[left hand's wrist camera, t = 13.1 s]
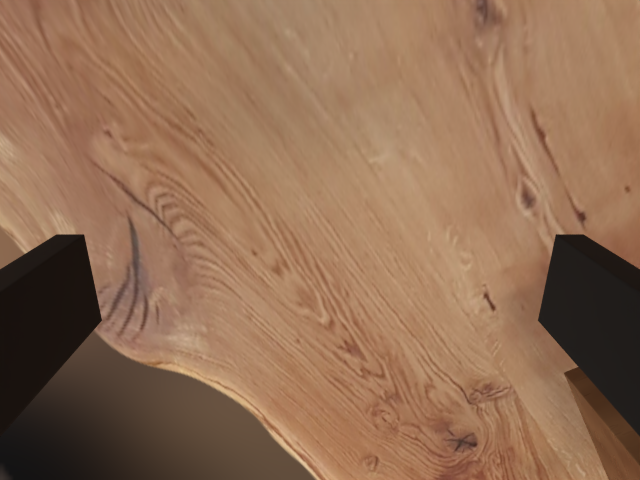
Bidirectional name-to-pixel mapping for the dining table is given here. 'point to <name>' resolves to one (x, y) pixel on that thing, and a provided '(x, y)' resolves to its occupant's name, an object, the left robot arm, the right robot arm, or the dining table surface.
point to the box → (606, 429)
